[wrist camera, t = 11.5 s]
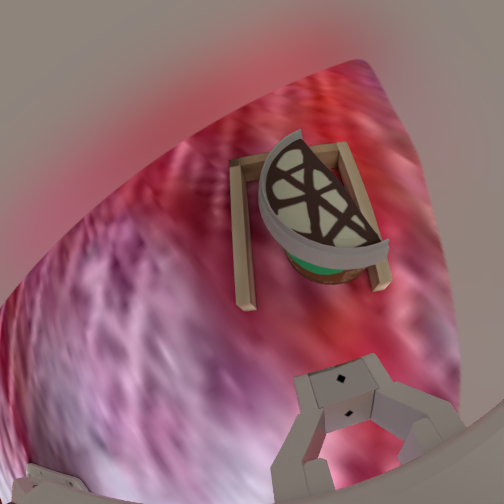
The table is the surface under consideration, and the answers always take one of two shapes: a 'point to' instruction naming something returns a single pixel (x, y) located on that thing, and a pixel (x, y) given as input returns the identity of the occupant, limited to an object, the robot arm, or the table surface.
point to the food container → (315, 216)
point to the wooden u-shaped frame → (242, 250)
